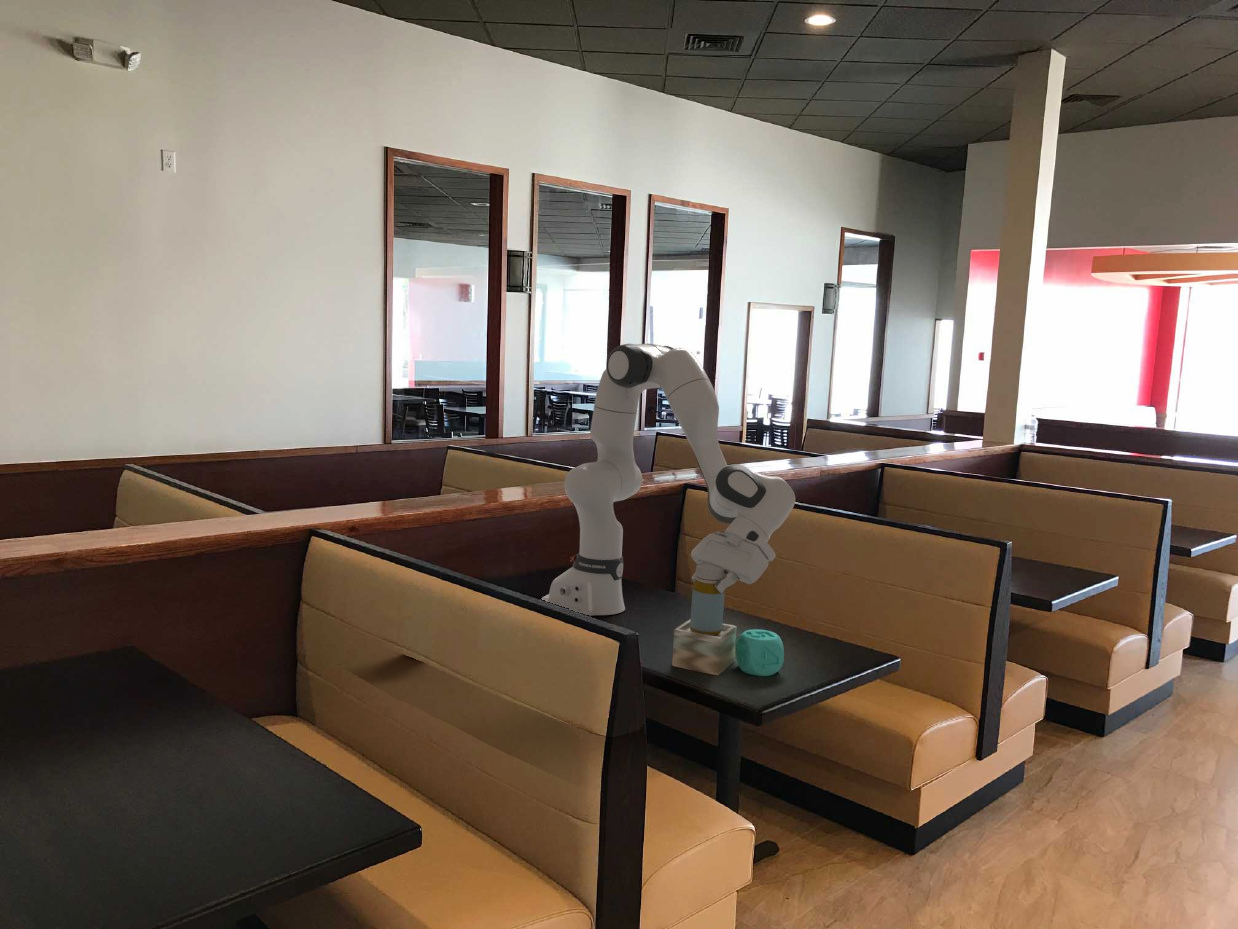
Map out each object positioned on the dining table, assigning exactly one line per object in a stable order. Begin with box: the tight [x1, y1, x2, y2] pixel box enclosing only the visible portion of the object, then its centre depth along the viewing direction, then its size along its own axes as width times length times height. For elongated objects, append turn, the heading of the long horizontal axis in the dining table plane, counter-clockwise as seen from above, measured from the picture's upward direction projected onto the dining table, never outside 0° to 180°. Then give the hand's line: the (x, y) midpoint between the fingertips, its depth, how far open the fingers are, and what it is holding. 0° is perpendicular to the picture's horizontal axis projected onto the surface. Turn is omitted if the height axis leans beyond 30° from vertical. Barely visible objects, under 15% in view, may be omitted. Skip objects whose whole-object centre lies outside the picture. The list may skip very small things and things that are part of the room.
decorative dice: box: [735, 628, 785, 677], centre depth 202 cm, size 8×8×8 cm
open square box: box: [671, 619, 738, 676], centre depth 204 cm, size 11×11×8 cm
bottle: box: [689, 563, 726, 636], centre depth 203 cm, size 7×7×15 cm
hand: (706, 585), depth 202 cm, fingers closed on bottle, 7 cm apart
